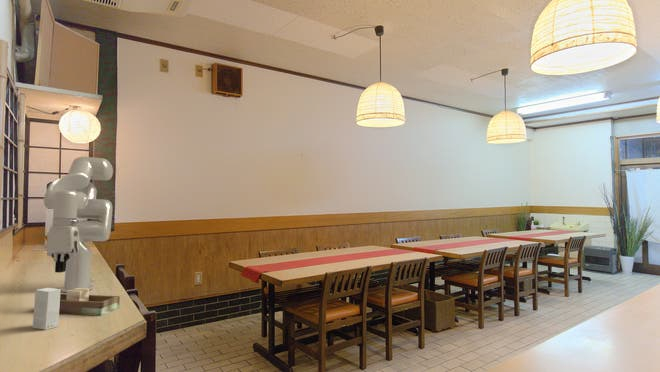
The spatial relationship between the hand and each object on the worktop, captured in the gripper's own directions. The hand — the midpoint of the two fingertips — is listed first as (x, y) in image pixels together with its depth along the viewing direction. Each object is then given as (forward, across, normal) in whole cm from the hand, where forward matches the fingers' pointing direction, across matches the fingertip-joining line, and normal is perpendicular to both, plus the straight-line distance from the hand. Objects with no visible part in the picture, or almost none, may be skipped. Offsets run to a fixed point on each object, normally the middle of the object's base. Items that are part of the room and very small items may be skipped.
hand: (60, 271), depth 142 cm
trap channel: (+14, -8, -1) cm, 16 cm away
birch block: (+12, -7, -1) cm, 14 cm away
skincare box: (+15, -12, +19) cm, 27 cm away
